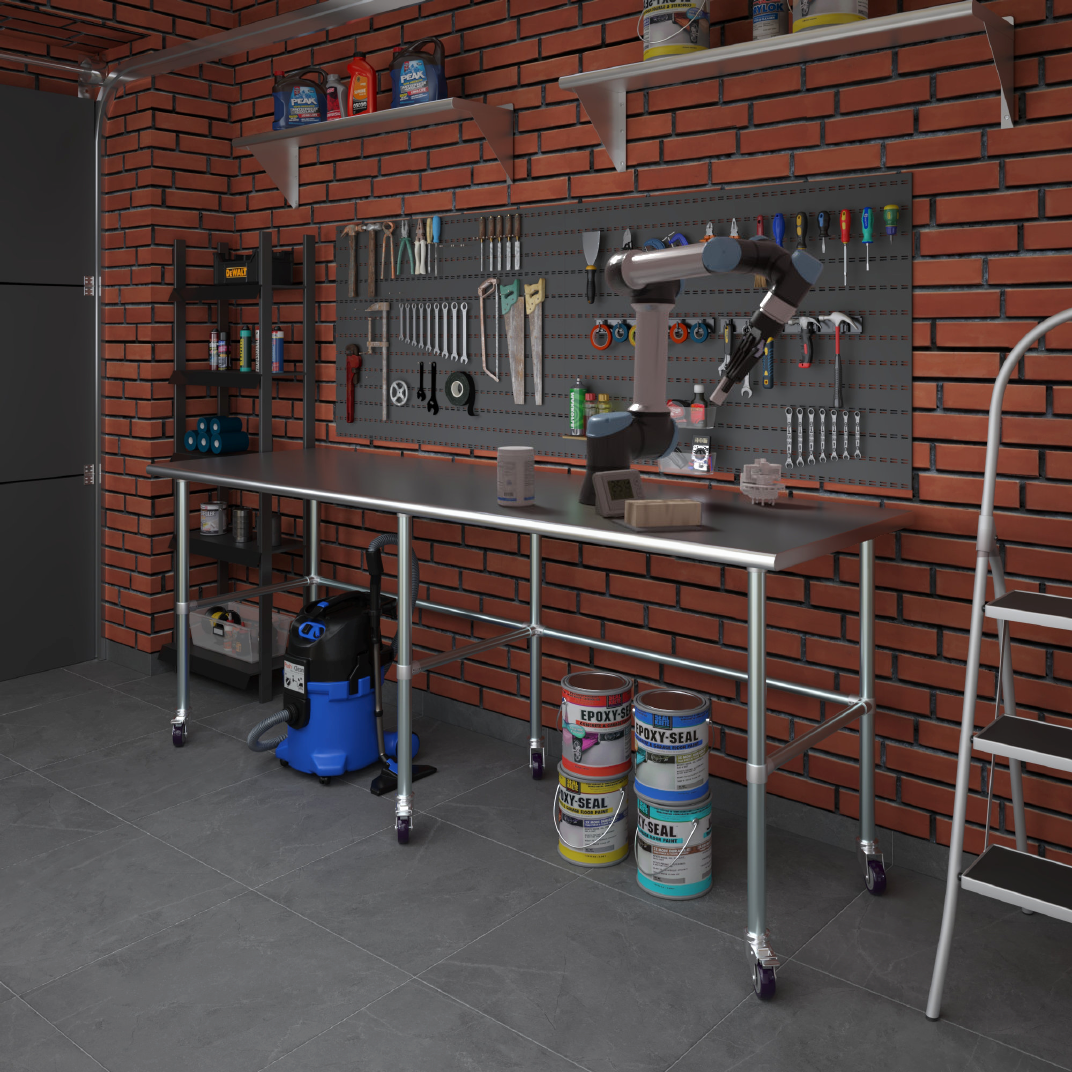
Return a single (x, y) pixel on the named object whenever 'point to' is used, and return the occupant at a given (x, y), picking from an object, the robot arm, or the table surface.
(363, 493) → the table surface
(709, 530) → the table surface
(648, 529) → the charcoal rubber mat
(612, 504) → the digital clock
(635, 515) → the beige rectangular block
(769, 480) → the mechanical part
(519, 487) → the supplement tub
